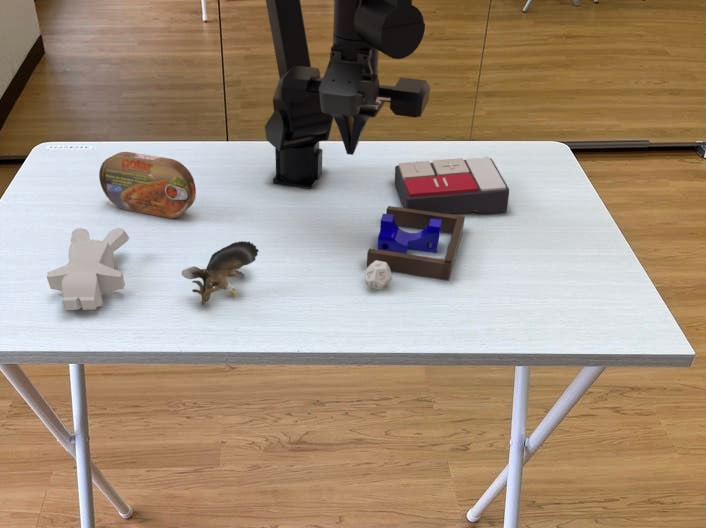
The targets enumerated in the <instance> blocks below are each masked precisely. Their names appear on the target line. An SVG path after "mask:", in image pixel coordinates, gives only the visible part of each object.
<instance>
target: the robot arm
mask: <svg viewBox="0 0 706 528" xmlns="http://www.w3.org/2000/svg"><path fill="white" fill-rule="evenodd" d="M265 5H266V9H267V15H268V19H269V20H268V21H269V26H270V32H271V37H272V43H273V48H274V54H275V60H276V65H277V69H278V78H279V79H278V82H277V85H276V89H275V90H274V94H273V96H272V106H273V113H272V114H271V115H270V117H269V119H268V120H267V122H266V123H265V125H264V133H265V136H266V141H267V142H268V143H269V144H271V145H272V146H273V147H274V150H275V175H274V177H273V178H272V184H276V185H283V186H290V187H296V188H297V187H298V188H303V189H304V188H306V189H312V188H313V187H314V186H315V183H316V182H317V181H318V180H319V178H320V177H321V175H322V174H323V149H322V148H320V142H327V141H329V137H330V134H331V130H332V127H333V126H332V125H333V121H334V122H335V123H336V126H337V128H338V131H339V133H340V137H341V141H342V143H343V146H344V150H345V153H346V154H347V155H351V156H354V154H355V152H356V151H357V150H356V149H357V147H358V145H359V142H360V140H361V137H362V135H363V133H364V130H365V127H366V125H367V123H368V121H369V118H370V119H371V118H376V117H377V116H378V114H379V113H380V111H381V110H382V108H383V106H384V105H385V102H386V103H389V109H390V111H391V112H392V113H393V114H394V116H398V117H399V116H400V117H407V118H415V119H416V118H419V117H422V115H423V113H424V111H425V110H426V107H427V106H428V103H429V101H430V91H431V85H429V82H428V81H427V80H426V79H420V78H419V79H418V78H410V77H399V79H398V80H397V82H396V84H395V85H386V84H382V83H381V84H380V80H379V69H378V68H379V54H380V53H383V54H384V55H385V56H387V57H388V58H391V59H394V60H403V59H405V58H407V57H409V56H411V55H412V54H413V53H415V51H416V50H417V49H418V48H419V46H420V45H421V43H422V41H423V38H424V35H425V32H426V31H425V30H426V23H425V21H424V15H423V14H422V12H421V11H420V9H419V7H417V6H415V5H413V0H333V30H332V31H333V33H332V46H331V47H330V53H329V54H330V55H329V61H328V63H327V66H326V70H325V72H324V75H323V77H321V70H320V69H319V67H312V63H311V57H310V52H309V45H308V39H307V32H306V28H305V21H304V15H303V8H302V2H301V0H265Z"/></svg>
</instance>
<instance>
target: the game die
mask: <svg viewBox="0 0 706 528" xmlns="http://www.w3.org/2000/svg"><path fill="white" fill-rule="evenodd" d="M363 274H364V277H365V282H366V283H367V284H368V286H369V288H371V289H377V290H382V289H383V288H385V287H386V286H387V285H388V283H390V281H391V280H392V279H393V274H392V272H391V270H390V268H389V266H388V264H387V263H386V262H382V261H377V260H376V261H374V262H373V263H372V264H370V265H369V267H368V268H367V267H366V269H365V270H364V272H363Z"/></svg>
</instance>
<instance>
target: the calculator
mask: <svg viewBox="0 0 706 528" xmlns="http://www.w3.org/2000/svg"><path fill="white" fill-rule="evenodd" d="M394 186H395V189H396V191H397V192H396V193H398V197H399V200H400V203H401V206H402V208H407V209H415V210H422V211H429V212H436V213H444V214H457V213H468V212H477V213H479V214H480V215H488V214H489V215H490V214H501V213H507V211H508V205H509V199H510V198H509V196H510V188H509V186H508V184H507V183H506V181H505V179H504V178H503V176H502V174H501V172H500V170H499V169H498V167H497V166H496V163H495V162H494V159H492V158H491V157H489V156H483V157H471V158H465V159H464V158H463V157H457V158H445V159H434V160H432V162H430V160H423V161H422V160H421V161H411V162H410V161H409V162H400V163H398V165H395V166H394Z"/></svg>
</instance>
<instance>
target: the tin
mask: <svg viewBox="0 0 706 528" xmlns="http://www.w3.org/2000/svg"><path fill="white" fill-rule="evenodd" d="M98 177H99V178H98V179H99V183H100V187H101V189H102V191H103V193H104V194H105V196H106V198H107V199H108V200H109V201H110V202H111V203H112V204H113V205H115V206H116V207H118V208H119V209H122V210H124V211H127V212H134V213H139V214H140V213H141V214H145V215H151V216H157V217H161V218H166V219H175V218H178V217H181V216H182V215H184V214H185V213H186V212H187V211H188V209H190V208H191V207H192V206H193V204H194V202H195V201H196V195H197V189H196V188H197V187H196V183H195V179H194V176H193V175H192V173H191V171H190V170H189V169H188V168H187V167H186V166H185V165H184V164H182V163H181V162H180V161H178V160H175V159H173V158H169V157H162V156H156V155H149V154H142V153H136V152H131V151H121V152H118V153H116V154H113V155H112V156H109V157H108V158H106V159H105V160H103V162H102V163H101V165H100V168H99V173H98Z"/></svg>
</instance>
